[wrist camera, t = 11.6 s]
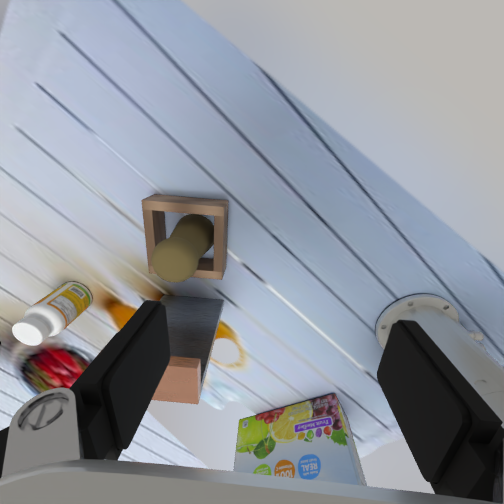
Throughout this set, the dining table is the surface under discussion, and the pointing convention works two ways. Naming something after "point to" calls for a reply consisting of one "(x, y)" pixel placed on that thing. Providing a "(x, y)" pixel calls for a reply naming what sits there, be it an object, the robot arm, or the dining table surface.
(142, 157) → the dining table surface
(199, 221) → the cork
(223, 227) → the socket block
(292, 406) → the snack box
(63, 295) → the supplement bottle
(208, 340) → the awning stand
